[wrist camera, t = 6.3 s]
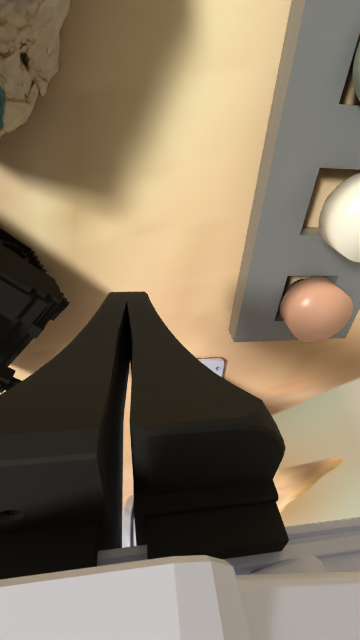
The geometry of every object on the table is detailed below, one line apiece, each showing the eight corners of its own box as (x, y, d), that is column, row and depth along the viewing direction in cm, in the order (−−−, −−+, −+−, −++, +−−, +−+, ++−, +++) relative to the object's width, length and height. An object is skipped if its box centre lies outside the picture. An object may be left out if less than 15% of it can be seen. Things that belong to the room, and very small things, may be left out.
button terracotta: (316, 314, 25) (339, 341, 22) (266, 316, 25) (283, 343, 22) (334, 267, 23) (363, 290, 20) (280, 267, 22) (301, 291, 19)
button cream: (359, 240, 20) (396, 262, 17) (298, 239, 19) (326, 262, 17) (389, 167, 18) (438, 179, 15) (320, 164, 17) (357, 176, 14)
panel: (335, 326, 27) (345, 337, 26) (228, 330, 26) (233, 341, 24) (499, -40, 14) (535, -54, 13) (305, -71, 13) (324, -91, 12)
